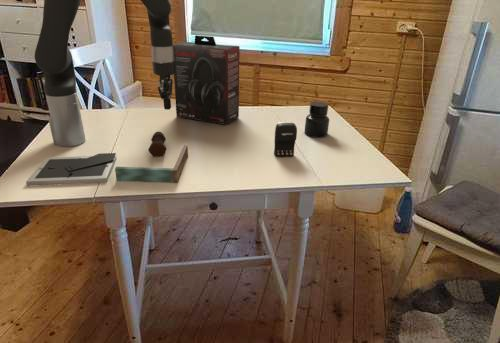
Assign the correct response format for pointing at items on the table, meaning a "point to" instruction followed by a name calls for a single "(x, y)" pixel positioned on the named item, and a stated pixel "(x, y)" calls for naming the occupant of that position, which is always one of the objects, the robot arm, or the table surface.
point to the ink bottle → (317, 120)
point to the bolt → (157, 145)
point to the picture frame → (74, 170)
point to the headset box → (207, 80)
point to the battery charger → (285, 139)
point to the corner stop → (154, 171)
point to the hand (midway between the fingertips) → (167, 108)
